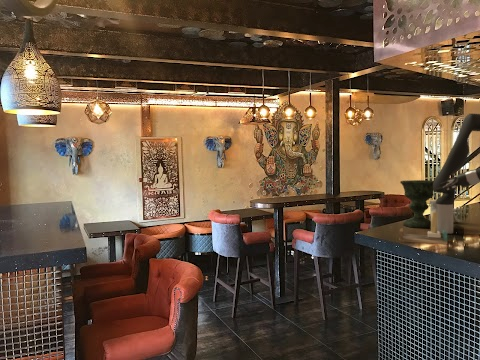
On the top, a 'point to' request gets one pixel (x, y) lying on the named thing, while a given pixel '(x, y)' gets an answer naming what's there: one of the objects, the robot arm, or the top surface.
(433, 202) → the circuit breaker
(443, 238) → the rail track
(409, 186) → the goblet
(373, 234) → the top surface
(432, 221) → the carriage
